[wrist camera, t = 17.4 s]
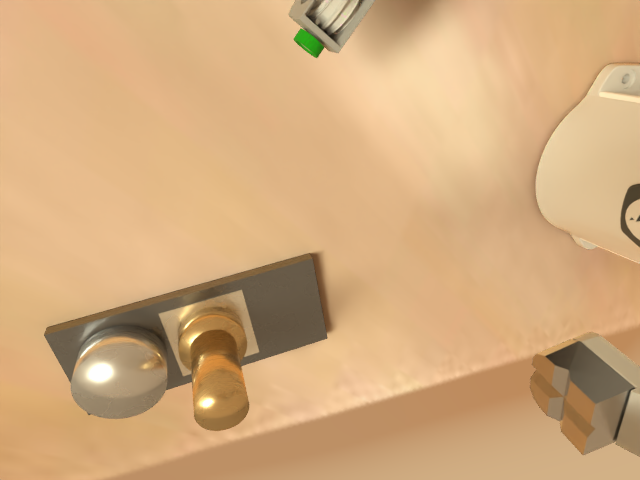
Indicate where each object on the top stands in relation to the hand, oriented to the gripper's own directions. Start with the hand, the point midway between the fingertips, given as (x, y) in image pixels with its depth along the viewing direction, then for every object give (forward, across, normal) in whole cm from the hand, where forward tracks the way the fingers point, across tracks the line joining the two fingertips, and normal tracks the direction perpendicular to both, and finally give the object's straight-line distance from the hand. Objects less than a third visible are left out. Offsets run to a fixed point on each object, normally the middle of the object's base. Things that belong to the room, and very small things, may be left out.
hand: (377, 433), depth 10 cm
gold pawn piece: (+26, +6, +18) cm, 32 cm away
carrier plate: (+27, +7, +18) cm, 33 cm away
